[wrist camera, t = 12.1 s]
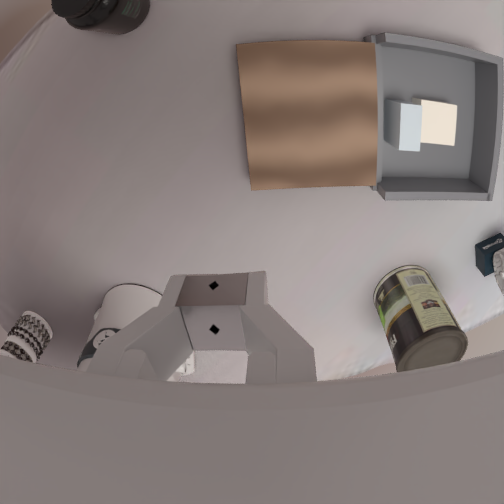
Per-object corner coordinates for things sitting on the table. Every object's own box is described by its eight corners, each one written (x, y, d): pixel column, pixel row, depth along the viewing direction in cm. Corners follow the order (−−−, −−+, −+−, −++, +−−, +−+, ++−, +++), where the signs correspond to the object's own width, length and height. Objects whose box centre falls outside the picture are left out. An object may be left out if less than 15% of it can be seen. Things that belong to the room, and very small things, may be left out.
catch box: (469, 183, 36) (492, 200, 31) (366, 182, 37) (380, 200, 32) (476, 56, 27) (503, 58, 22) (363, 37, 28) (380, 32, 23)
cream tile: (419, 142, 31) (410, 137, 33) (454, 145, 30) (444, 140, 33) (421, 99, 28) (412, 97, 30) (457, 105, 28) (447, 102, 30)
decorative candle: (58, 329, 56) (5, 425, 34) (48, 346, 60) (2, 432, 38) (25, 302, 53) (-36, 392, 31) (18, 321, 57) (-34, 404, 35)
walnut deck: (366, 174, 37) (375, 185, 33) (252, 178, 38) (251, 190, 35) (364, 45, 29) (374, 42, 25) (239, 47, 30) (236, 44, 27)
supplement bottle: (93, 31, 28) (34, 26, 18) (111, -17, 25) (57, -37, 15) (140, 38, 29) (88, 30, 19) (159, -12, 26) (115, -39, 16)
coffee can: (382, 324, 50) (404, 392, 38) (364, 282, 45) (389, 354, 33) (436, 299, 47) (469, 362, 35) (425, 253, 42) (466, 318, 30)
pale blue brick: (383, 139, 33) (402, 141, 33) (398, 150, 29) (419, 151, 29) (384, 98, 31) (404, 100, 31) (401, 103, 27) (422, 105, 26)
